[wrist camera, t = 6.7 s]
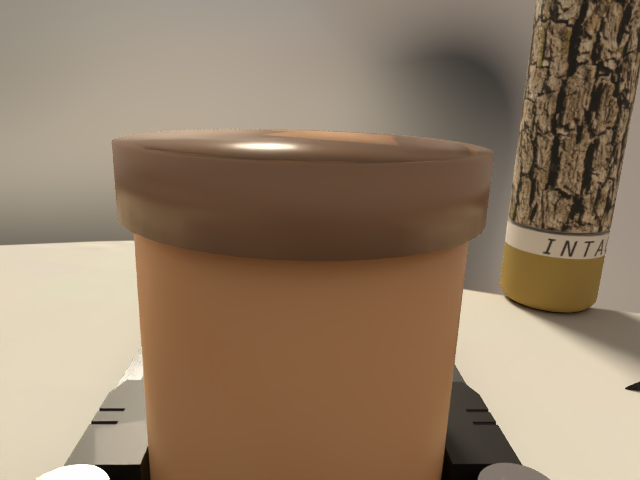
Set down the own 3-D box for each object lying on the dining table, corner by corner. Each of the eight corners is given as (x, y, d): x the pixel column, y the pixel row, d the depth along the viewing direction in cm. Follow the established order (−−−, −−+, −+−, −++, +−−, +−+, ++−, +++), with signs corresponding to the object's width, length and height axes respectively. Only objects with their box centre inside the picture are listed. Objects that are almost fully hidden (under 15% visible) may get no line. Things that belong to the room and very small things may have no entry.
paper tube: (479, 288, 41) (522, -68, 34) (541, 278, 44) (592, -53, 37) (550, 322, 35) (619, -100, 28) (616, 308, 38) (693, -79, 31)
